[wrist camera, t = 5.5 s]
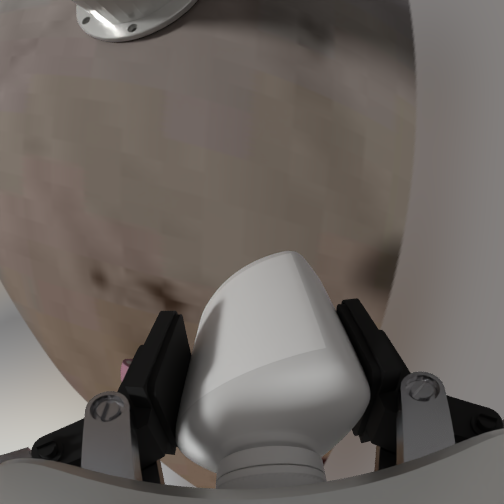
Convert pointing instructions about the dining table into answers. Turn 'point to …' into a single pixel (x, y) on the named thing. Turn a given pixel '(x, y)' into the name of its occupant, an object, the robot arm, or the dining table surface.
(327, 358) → the eye dropper bottle
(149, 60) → the dining table surface
